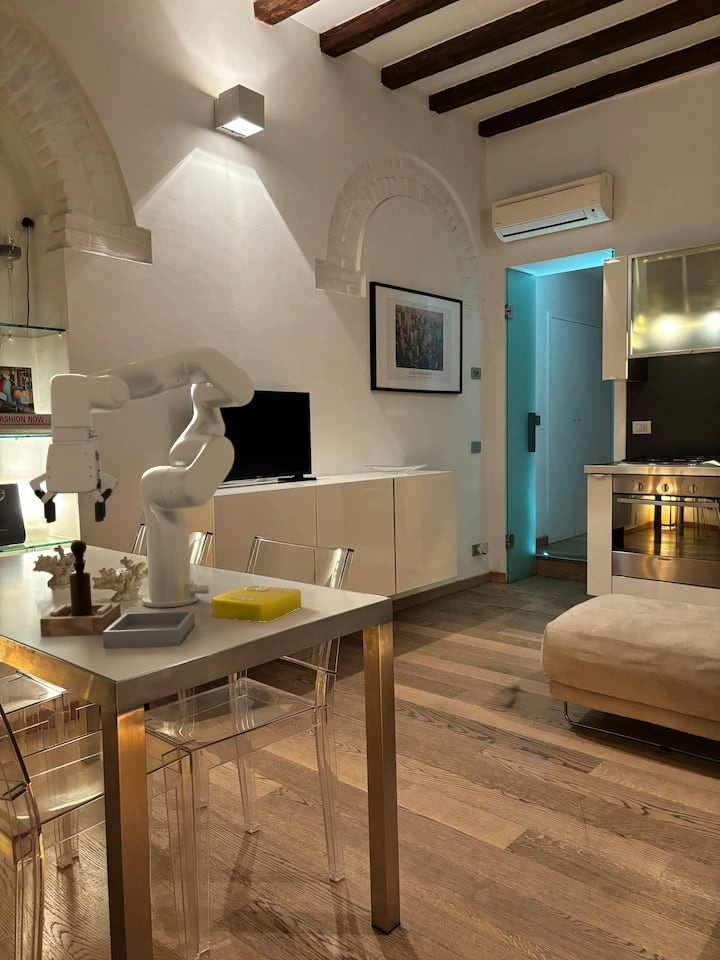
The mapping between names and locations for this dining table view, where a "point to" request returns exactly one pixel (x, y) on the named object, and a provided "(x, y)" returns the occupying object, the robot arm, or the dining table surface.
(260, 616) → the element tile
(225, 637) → the dining table surface
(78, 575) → the wooden pepper mill
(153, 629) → the gray square tray
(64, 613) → the walnut tray
